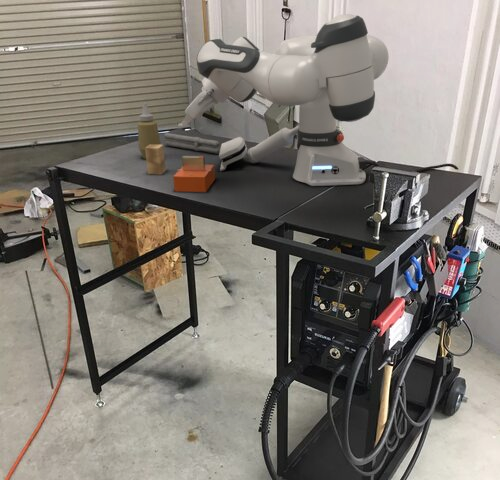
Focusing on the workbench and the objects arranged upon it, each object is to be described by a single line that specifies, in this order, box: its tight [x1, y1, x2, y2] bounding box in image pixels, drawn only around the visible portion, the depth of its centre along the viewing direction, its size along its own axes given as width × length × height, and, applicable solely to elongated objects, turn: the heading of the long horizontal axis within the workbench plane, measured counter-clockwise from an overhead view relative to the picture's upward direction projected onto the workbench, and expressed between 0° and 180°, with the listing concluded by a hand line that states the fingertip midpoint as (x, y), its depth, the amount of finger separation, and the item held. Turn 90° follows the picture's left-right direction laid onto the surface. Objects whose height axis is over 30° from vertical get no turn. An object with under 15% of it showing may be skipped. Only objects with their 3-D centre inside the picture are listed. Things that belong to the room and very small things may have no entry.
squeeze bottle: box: [137, 103, 162, 160], centre depth 188 cm, size 8×8×18 cm
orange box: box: [172, 164, 216, 193], centre depth 163 cm, size 13×11×5 cm
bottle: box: [246, 124, 299, 164], centre depth 173 cm, size 5×5×25 cm
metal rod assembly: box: [163, 132, 220, 155], centre depth 199 cm, size 26×3×5 cm, turn 54°
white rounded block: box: [218, 136, 248, 172], centre depth 180 cm, size 17×5×10 cm
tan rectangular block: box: [181, 154, 206, 171], centre depth 161 cm, size 6×2×4 cm, turn 80°
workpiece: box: [145, 144, 167, 176], centre depth 174 cm, size 5×5×8 cm
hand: (188, 121), depth 166 cm, fingers open, 8 cm apart
